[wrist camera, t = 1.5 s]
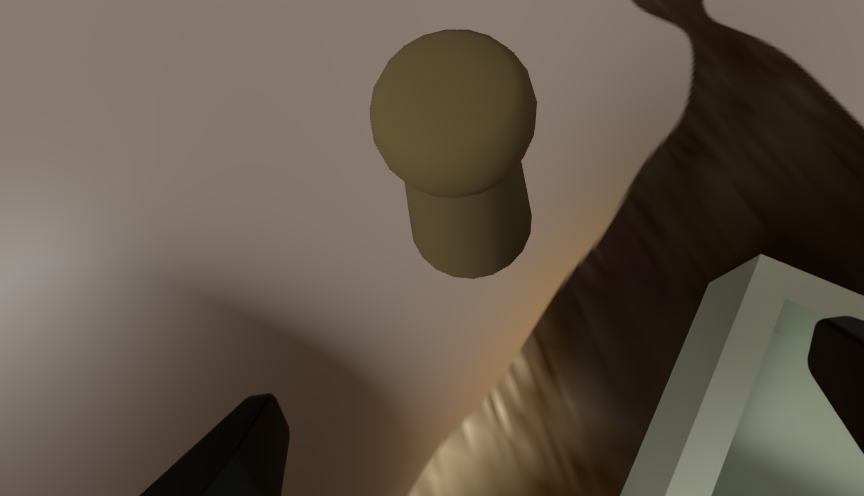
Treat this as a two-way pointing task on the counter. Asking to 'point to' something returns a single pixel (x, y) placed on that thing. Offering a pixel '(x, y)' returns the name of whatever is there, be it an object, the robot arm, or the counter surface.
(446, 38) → the cork
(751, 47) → the counter surface
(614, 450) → the counter surface
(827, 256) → the counter surface
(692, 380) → the end cap socket
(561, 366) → the counter surface
